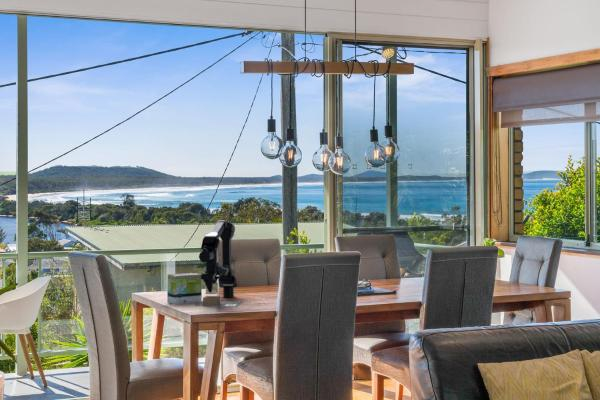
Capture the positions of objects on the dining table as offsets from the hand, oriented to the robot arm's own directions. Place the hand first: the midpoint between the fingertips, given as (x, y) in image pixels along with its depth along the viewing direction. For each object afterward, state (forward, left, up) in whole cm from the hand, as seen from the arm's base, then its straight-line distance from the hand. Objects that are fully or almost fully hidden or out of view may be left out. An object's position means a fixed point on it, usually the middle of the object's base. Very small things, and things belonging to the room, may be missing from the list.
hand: (211, 291), depth 423 cm
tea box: (-10, -17, -8) cm, 21 cm away
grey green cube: (0, 0, -1) cm, 1 cm away
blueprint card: (+1, +10, -7) cm, 12 cm away
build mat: (-3, +3, -7) cm, 8 cm away
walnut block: (0, 0, -7) cm, 7 cm away
